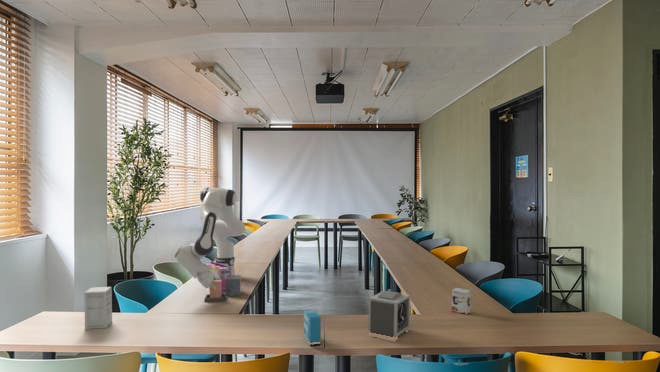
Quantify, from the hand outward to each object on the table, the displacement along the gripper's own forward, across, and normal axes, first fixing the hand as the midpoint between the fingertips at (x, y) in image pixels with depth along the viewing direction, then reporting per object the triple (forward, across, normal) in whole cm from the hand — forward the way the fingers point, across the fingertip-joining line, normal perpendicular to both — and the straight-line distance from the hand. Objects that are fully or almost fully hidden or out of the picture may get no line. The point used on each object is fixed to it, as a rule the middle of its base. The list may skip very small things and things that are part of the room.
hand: (216, 287), depth 257 cm
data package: (+38, -70, -28) cm, 84 cm away
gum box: (+3, +29, +7) cm, 30 cm away
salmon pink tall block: (+3, 0, +4) cm, 5 cm away
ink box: (+95, -37, -85) cm, 133 cm away
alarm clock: (+63, -63, -53) cm, 104 cm away
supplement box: (-30, -39, +40) cm, 63 cm away
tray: (+4, 0, +5) cm, 7 cm away
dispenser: (+8, +11, +2) cm, 14 cm away
